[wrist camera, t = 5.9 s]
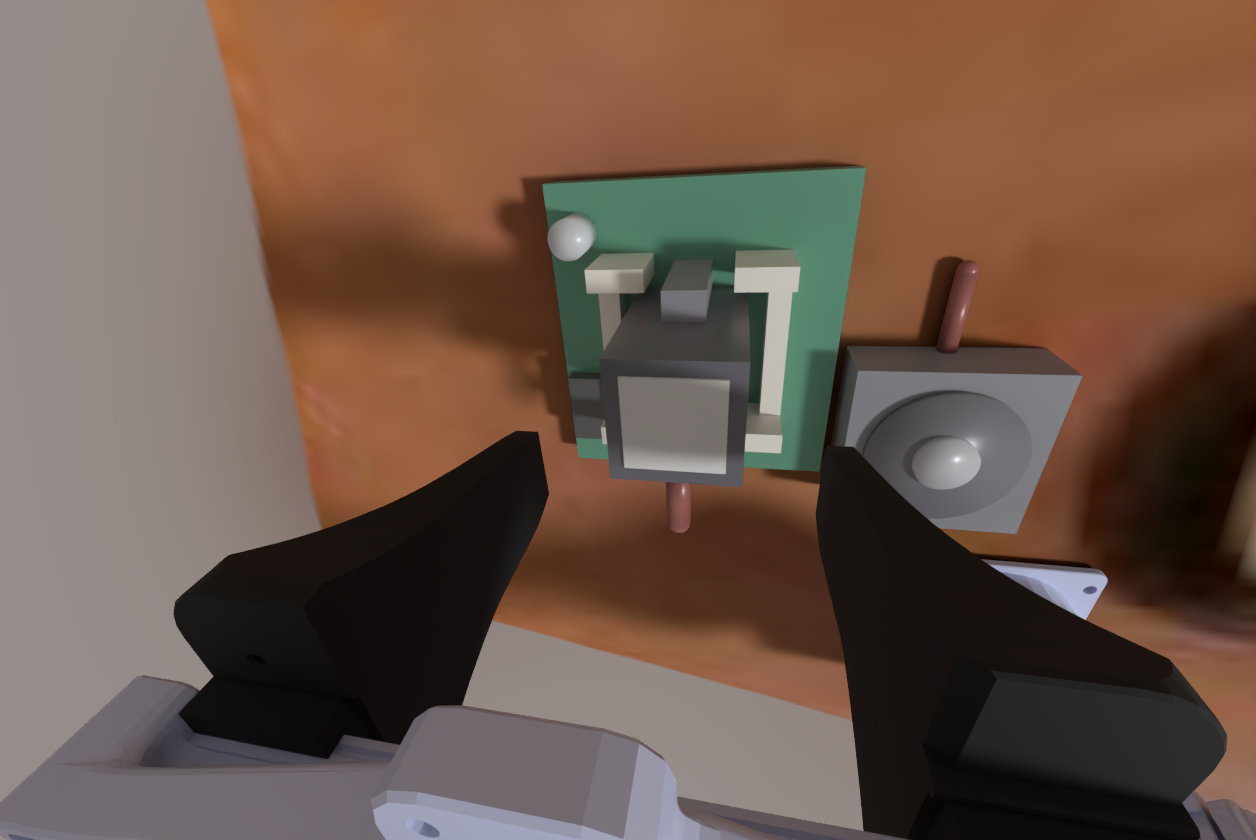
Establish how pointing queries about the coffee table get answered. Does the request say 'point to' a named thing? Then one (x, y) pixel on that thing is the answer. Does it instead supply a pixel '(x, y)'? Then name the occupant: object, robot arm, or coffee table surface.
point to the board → (715, 284)
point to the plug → (679, 387)
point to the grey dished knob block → (956, 419)
